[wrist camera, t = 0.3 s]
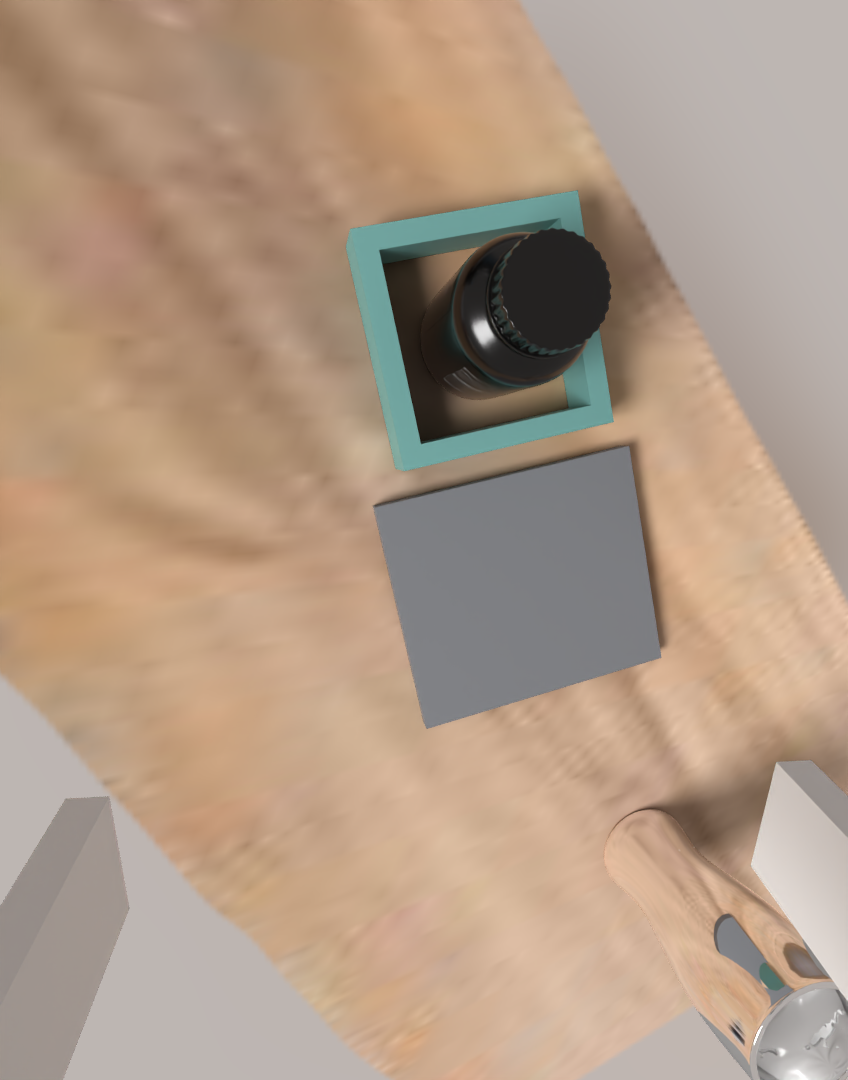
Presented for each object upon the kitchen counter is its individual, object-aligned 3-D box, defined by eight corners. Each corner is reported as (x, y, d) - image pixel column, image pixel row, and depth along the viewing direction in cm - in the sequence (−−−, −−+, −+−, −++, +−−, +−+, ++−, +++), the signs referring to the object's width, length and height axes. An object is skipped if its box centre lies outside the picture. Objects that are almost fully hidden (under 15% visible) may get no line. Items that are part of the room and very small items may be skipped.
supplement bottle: (552, 354, 38) (666, 314, 26) (463, 424, 37) (539, 415, 26) (486, 253, 36) (576, 164, 25) (393, 326, 36) (440, 269, 24)
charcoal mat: (372, 506, 37) (374, 507, 36) (620, 445, 40) (629, 445, 39) (423, 721, 40) (426, 728, 39) (652, 652, 42) (661, 657, 41)
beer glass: (689, 879, 46) (874, 1084, 31) (600, 904, 44) (749, 1128, 30) (685, 792, 44) (874, 962, 30) (593, 814, 43) (744, 1003, 29)
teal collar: (345, 246, 35) (350, 228, 32) (555, 210, 37) (577, 190, 34) (395, 468, 37) (404, 470, 34) (589, 423, 39) (613, 421, 36)
